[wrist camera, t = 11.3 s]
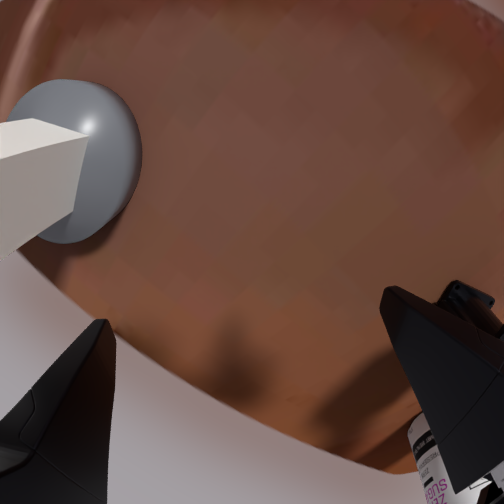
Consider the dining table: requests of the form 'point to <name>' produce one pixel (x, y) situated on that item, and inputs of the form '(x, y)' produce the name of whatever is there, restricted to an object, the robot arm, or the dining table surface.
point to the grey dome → (89, 150)
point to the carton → (36, 178)
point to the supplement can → (437, 468)
